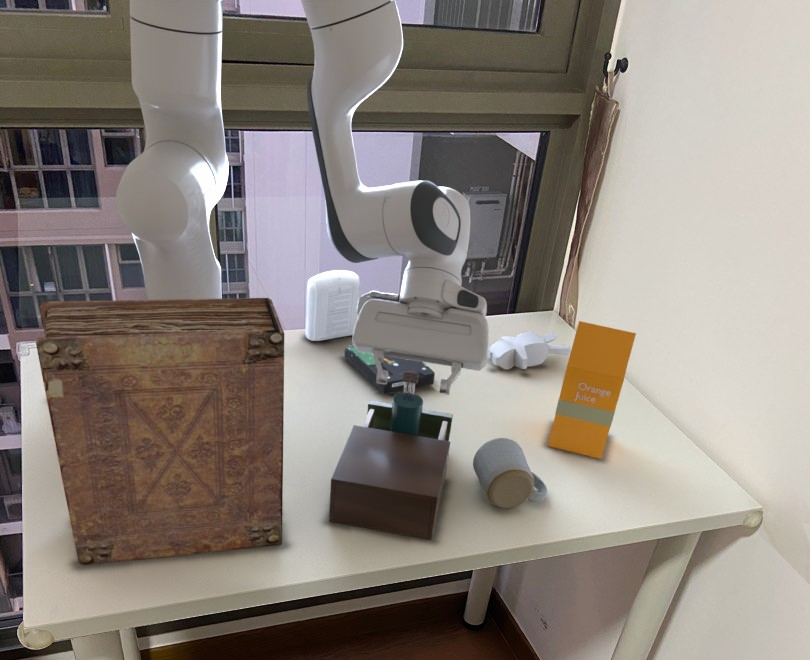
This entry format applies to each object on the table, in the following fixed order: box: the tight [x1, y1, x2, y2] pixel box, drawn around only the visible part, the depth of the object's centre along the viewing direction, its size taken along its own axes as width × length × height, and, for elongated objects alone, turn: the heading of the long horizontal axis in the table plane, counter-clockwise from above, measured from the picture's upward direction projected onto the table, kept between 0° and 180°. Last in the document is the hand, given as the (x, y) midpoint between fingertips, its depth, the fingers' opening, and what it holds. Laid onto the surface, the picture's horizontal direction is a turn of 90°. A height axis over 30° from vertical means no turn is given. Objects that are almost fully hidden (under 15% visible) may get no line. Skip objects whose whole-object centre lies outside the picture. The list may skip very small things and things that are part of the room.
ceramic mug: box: [472, 437, 548, 509], centre depth 121 cm, size 11×8×8 cm
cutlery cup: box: [390, 371, 424, 436], centre depth 123 cm, size 4×4×13 cm
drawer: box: [362, 400, 454, 441], centre depth 127 cm, size 18×13×6 cm
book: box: [35, 297, 285, 566], centre depth 100 cm, size 25×9×30 cm, turn 106°
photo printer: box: [304, 269, 361, 342], centre depth 156 cm, size 10×4×12 cm, turn 123°
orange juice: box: [547, 320, 637, 460], centre depth 132 cm, size 8×9×20 cm
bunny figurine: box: [487, 330, 572, 370], centre depth 157 cm, size 10×5×15 cm
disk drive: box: [344, 344, 436, 395], centre depth 149 cm, size 10×3×15 cm
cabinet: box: [328, 424, 451, 541], centre depth 117 cm, size 14×14×7 cm
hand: (412, 388), depth 124 cm, fingers open, 8 cm apart
